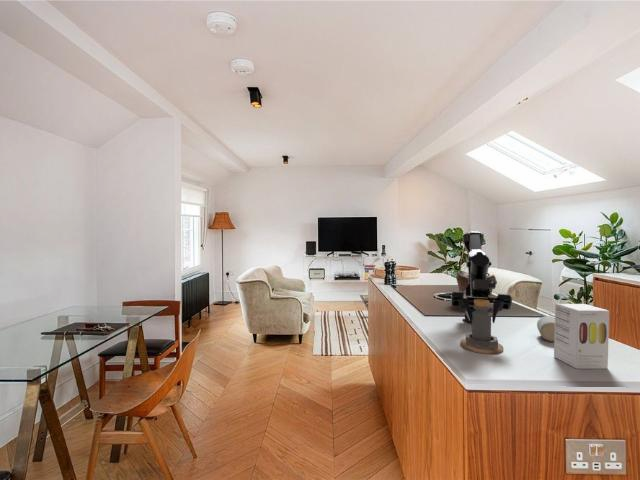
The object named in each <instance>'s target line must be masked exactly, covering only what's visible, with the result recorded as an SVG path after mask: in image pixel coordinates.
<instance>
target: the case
mask: <svg viewBox="0 0 640 480" xmlns="http://www.w3.org/2000/svg"><path fill="white" fill-rule="evenodd" d="M455 278H456V282H457V286H458V292H464V294H465V289H466V287H467V286H468V284H469V280H468V272H466V271H463V270H461V269H460V270H457V273H456V277H455ZM489 279H495V282H496V285H497V284H498V281H497V279H496V275H494V274H491V275H490V273H489V272H488V273H487V280H489ZM493 290H494V289H490V295H489V297H490V298H492V295H493V294H492V293H493ZM488 306H490V304H489V305H488Z"/></svg>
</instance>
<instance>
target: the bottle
mask: <svg viewBox="0 0 640 480" xmlns="http://www.w3.org/2000/svg"><path fill="white" fill-rule="evenodd" d="M474 303H475V305H473V308H474V309H475V311H473V312H472V323H471V333H472V338H473V339H475V340H480V341H491V335H492V313H490V312H489V311H490V309H491V306H490V304H489V301H488V300H484V299H475V300H474ZM488 305H489V306H488Z"/></svg>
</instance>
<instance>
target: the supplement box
mask: <svg viewBox="0 0 640 480" xmlns="http://www.w3.org/2000/svg"><path fill="white" fill-rule="evenodd" d="M554 305H555V306H554V307H555V308H554V318H555V337H554V342H553V343H554V346H553V357H555V358H556V359H558V360H560V361H561V362H563V363H565V364H567V365H569V366H571V367H573V368H574V369H579V370H580V369H583V370H584V369H585V370H587V369H594V370H595V369H597V370H599V369H600V370H601V369H602V370H605V369H608V366H609V364H608V363H609V362H608V361H609V339H610V338H609V337H610V336H609V334H610V310H608V309H604V308H603V307H602V308H601V307H597V306H593V305H590V304H586V303H555V304H554Z"/></svg>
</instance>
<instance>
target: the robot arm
mask: <svg viewBox="0 0 640 480" xmlns="http://www.w3.org/2000/svg"><path fill="white" fill-rule="evenodd" d="M484 239H485V237H484V234H483V233H482V232H480V231H468V232H466V233H463V234H462V244H463V246H464V247H463V248H464V251H466V253H467V257H466V260H465V261H466V263H465V264H466V265H465V267H466V268H467V270H468V272H467V273H468V280H469V284H468V286H467V287H466V289H465V294H464V292H459V291H452V292H451V297H450V298H451V301H450V302H451V306H452V307H458V308H459V309H462V311H463V312H464V318H462V321H463V322H466V323H470V324H472V312H473V311H475V309H474V308H473V305H475V303H474V300H475V299H484V300H488V301H489V305H490V304H491V305H492V304H493V305H492V313H491V322H492V324H495V321H496V317H497V316H498V313H499V312H502V311H503V310H507V311H508V310H510V309H511V306H512V302H513V298H512V296H511V295H510V294H509V293H508V294H507V293H497V295H496V296H497V297H491V298H490V297H489V295H490V289H493V290H495V289H496V287H497V284H496V282H495V279H489V280H487V276H488V274H487V273H489V268H491V267H490V266H492V261H490V258H489V256H487V254H486V253H485V252H484V251H483V250H482V246H483V244H484V242H485V240H484Z"/></svg>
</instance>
